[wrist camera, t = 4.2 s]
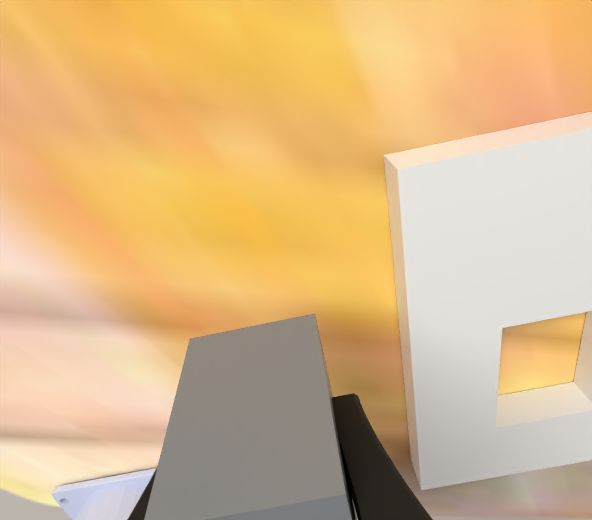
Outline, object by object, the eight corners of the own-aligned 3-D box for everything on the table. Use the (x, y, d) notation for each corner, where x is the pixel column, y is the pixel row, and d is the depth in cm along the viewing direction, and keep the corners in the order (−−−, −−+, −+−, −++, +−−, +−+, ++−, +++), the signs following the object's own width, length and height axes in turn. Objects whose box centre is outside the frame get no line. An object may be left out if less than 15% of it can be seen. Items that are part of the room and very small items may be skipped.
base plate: (631, 420, 26) (658, 448, 24) (411, 460, 26) (421, 490, 25) (735, 81, 16) (792, 87, 14) (383, 155, 17) (397, 169, 15)
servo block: (341, 433, 14) (376, 623, 9) (237, 452, 14) (224, 648, 9) (314, 313, 11) (345, 494, 7) (189, 338, 11) (141, 530, 7)
